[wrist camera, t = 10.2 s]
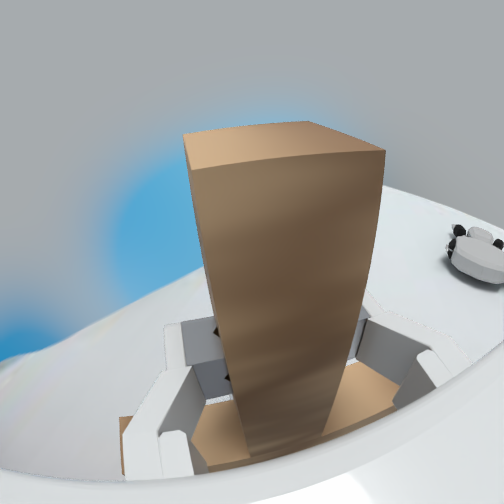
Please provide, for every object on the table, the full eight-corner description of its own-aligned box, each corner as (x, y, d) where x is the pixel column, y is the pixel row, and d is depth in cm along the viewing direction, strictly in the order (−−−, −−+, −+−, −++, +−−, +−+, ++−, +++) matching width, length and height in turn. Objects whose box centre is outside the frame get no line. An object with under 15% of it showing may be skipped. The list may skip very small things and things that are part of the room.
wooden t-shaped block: (143, 486, 10) (-76, 253, 3) (138, 436, 13) (-14, 192, 5) (406, 412, 13) (520, 155, 5) (382, 373, 15) (450, 126, 8)
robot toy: (445, 236, 45) (438, 275, 35) (451, 214, 43) (447, 247, 33) (501, 257, 39) (508, 302, 29) (508, 235, 37) (520, 275, 26)
